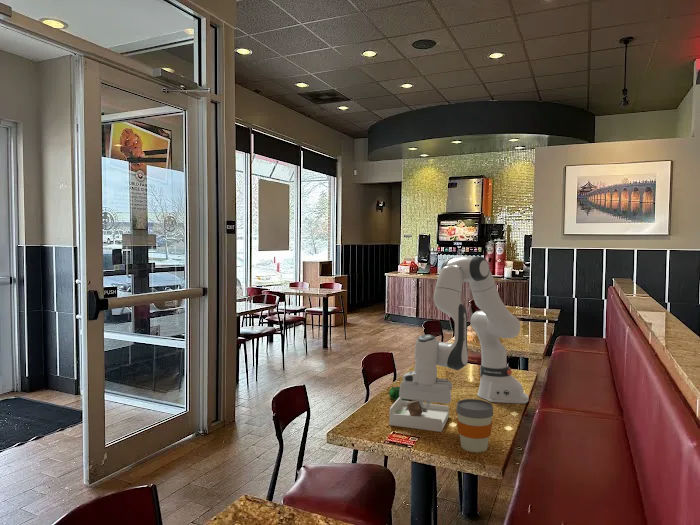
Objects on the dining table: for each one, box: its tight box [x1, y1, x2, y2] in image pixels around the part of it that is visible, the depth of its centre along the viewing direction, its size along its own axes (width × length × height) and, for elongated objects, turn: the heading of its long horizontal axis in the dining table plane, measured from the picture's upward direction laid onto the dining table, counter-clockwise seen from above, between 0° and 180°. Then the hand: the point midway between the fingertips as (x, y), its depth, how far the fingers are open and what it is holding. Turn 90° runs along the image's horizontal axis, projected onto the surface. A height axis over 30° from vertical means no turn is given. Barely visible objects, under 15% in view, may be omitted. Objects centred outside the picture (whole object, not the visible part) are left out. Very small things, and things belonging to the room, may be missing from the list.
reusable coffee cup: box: [455, 398, 494, 453], centre depth 178 cm, size 13×13×15 cm
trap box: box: [388, 397, 450, 433], centre depth 203 cm, size 20×17×6 cm
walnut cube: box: [407, 400, 422, 416], centre depth 203 cm, size 4×4×4 cm
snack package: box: [388, 386, 410, 401], centre depth 231 cm, size 7×16×5 cm, turn 98°
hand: (424, 411), depth 201 cm, fingers closed
